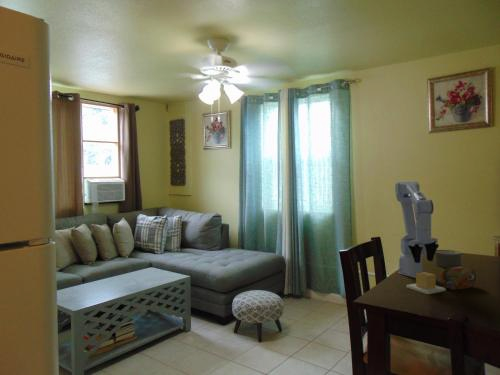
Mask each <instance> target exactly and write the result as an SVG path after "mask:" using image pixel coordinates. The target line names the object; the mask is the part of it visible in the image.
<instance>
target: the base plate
mask: <svg viewBox="0 0 500 375" xmlns="http://www.w3.org/2000/svg"><path fill="white" fill-rule="evenodd" d="M406 288H407V289H410V290H413V291H415V292H419V293H422V294H425V295H431V294H436V293H437V294H438V293H441V292H446V291H447V290H446V289H447V288H446V287H444V286H438V285H436V287H435V288H430V289H425V288H421V287H418V286H416V282H415V283H411V284H406Z"/></svg>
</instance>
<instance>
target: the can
mask: <svg viewBox="0 0 500 375" xmlns="http://www.w3.org/2000/svg"><path fill="white" fill-rule="evenodd" d="M434 265H435V266H436V267H440V268H444V269H447V268H454V267H462V252H461V251H457V250H452V249H437V250H436V252H435V255H434Z"/></svg>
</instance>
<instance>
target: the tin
mask: <svg viewBox="0 0 500 375" xmlns="http://www.w3.org/2000/svg"><path fill="white" fill-rule="evenodd" d="M476 281H477V274H476V272H475V270H474V269H473V268H472V267H470V266H465V265H463V266H462V265H461V267H454V268H444V270H443V272H442V273H441V283H442V285H443V287H444V288H446V289H450V290H452V291H455V290H456V289H457V290H463V289H464V290H465V289H470V288H472V287H473V286H474V285H475V283H476Z"/></svg>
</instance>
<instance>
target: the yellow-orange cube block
mask: <svg viewBox="0 0 500 375" xmlns="http://www.w3.org/2000/svg"><path fill="white" fill-rule="evenodd" d="M436 276H437V275H436V274H435V273H431V272H426V271H422V273H416V278H415V283H416V286H418V287H421V288H425V289H430V288H435V287H436V286H437V285H436V284H437V283H436V281H437V280H436V279H437V277H436Z"/></svg>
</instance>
